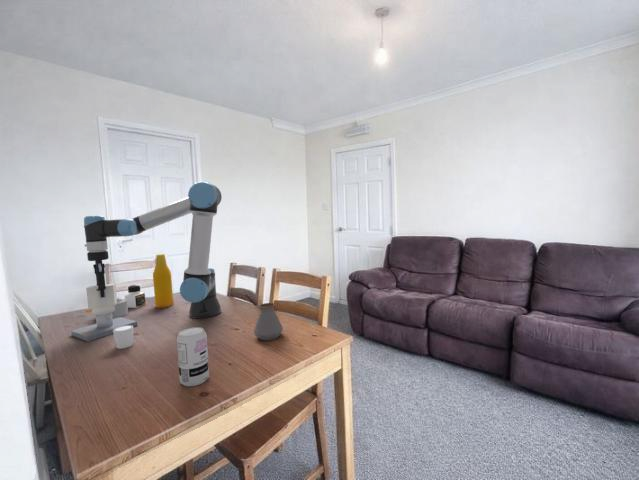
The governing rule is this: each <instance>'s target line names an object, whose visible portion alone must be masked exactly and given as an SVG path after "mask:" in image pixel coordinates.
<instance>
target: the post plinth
mask: <svg viewBox="0 0 639 480" xmlns="http://www.w3.org/2000/svg"><path fill="white" fill-rule="evenodd" d="M95 321H96V322H95V323H94V324H92V325H87V326H83V327H80V328H76V329H74V330H73V329H72V330H70V331H71V337H72V336H73V337H74V338H78V339H80V340H83V341H85V342H91V341H95V340H97V339H100V338H103V337H106V336H109V335H112V334H113V330H114V329H115V328H117V327H121V326H126V325H132V326H133V328H135V327H137V326H138V321H137V320H133V319H129V318H125V317H123V316H121V317H117V318H112V313H108V314H104V315H95ZM113 335H114V334H113Z"/></svg>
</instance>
